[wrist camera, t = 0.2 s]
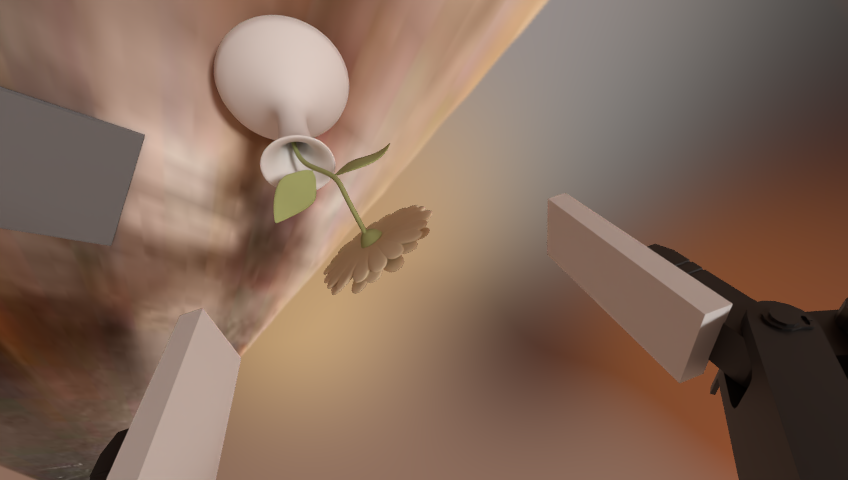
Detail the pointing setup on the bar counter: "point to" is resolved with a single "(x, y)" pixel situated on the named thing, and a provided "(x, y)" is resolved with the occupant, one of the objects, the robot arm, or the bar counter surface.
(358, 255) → the flower in vase
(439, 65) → the bar counter surface
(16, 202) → the mat
